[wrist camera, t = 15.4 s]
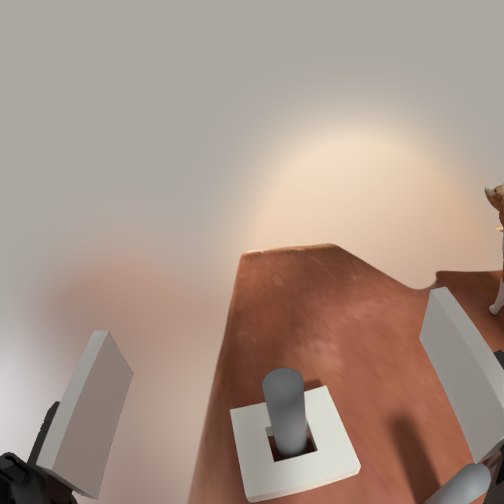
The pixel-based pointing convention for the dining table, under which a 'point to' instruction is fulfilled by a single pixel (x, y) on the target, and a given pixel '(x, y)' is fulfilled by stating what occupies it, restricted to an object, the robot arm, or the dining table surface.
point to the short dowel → (491, 462)
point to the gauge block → (298, 468)
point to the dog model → (500, 199)
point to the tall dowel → (286, 411)
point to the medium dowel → (463, 486)
